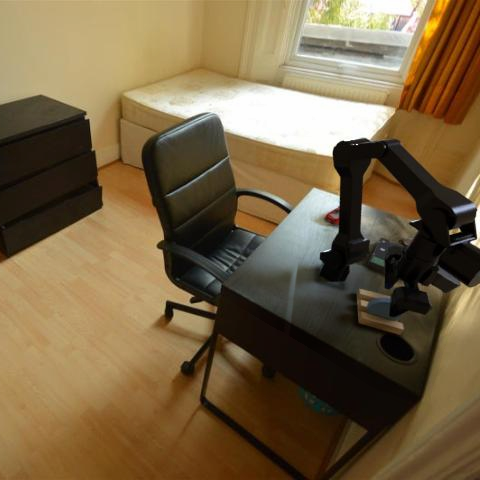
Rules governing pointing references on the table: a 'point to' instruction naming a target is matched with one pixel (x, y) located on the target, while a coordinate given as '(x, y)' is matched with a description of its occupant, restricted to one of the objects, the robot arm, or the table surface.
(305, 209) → the table surface
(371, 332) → the table surface
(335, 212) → the race car
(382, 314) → the blue disc
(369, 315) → the rack
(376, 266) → the disk drive
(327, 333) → the table surface
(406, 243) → the decorative disc
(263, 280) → the table surface
